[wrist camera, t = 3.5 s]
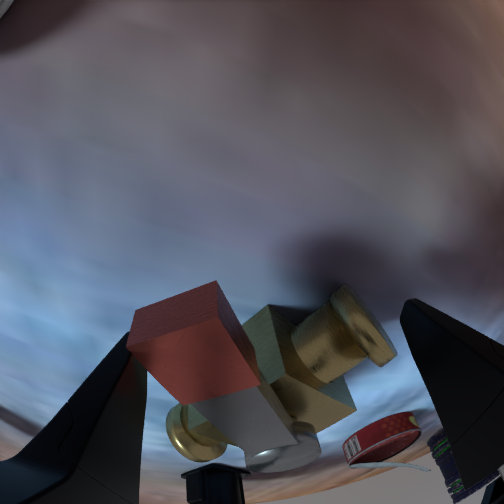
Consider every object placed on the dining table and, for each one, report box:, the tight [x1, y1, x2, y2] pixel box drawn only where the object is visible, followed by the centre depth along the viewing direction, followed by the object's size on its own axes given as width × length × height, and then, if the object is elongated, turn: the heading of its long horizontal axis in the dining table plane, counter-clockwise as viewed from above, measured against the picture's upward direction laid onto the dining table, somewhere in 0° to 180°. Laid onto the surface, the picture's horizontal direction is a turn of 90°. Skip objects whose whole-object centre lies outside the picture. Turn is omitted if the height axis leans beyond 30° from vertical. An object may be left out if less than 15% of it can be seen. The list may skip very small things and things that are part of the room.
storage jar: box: [427, 428, 500, 504], centre depth 32 cm, size 10×10×15 cm
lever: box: [126, 280, 322, 473], centre depth 11 cm, size 13×4×2 cm, turn 20°
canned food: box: [342, 412, 430, 472], centre depth 27 cm, size 11×10×10 cm
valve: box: [166, 284, 398, 462], centre depth 17 cm, size 7×15×6 cm, turn 134°
